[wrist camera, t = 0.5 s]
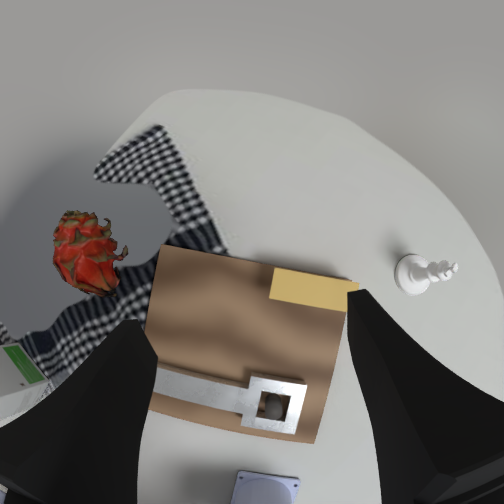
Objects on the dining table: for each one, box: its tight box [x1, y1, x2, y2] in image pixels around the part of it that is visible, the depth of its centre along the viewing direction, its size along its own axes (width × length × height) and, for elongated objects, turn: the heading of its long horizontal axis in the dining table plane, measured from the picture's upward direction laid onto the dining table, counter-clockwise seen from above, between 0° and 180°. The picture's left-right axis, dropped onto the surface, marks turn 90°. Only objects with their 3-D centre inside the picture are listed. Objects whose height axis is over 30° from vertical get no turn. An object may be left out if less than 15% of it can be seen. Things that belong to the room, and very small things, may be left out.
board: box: [144, 244, 352, 444], centre depth 33 cm, size 20×22×5 cm
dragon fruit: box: [53, 211, 128, 297], centre depth 34 cm, size 8×8×12 cm
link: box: [153, 362, 307, 434], centre depth 33 cm, size 17×6×2 cm, turn 79°
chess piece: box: [395, 255, 458, 296], centre depth 31 cm, size 5×5×10 cm
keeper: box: [269, 268, 359, 312], centre depth 33 cm, size 3×8×4 cm, turn 79°
